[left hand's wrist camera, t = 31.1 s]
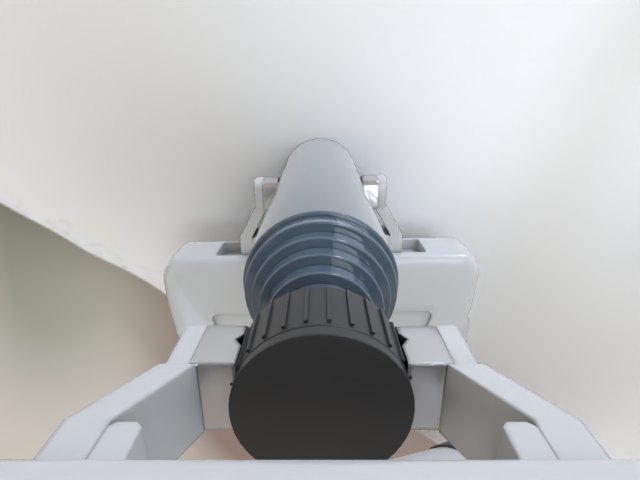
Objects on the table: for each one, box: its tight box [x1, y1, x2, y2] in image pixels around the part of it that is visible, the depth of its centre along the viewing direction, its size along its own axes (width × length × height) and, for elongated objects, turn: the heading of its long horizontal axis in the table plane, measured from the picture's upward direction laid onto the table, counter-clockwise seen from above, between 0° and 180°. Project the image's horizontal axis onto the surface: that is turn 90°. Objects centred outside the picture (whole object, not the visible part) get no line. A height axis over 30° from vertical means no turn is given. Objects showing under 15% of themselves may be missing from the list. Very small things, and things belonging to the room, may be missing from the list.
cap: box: [228, 286, 415, 460], centre depth 9 cm, size 4×4×2 cm
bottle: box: [243, 139, 399, 321], centre depth 20 cm, size 5×5×23 cm
